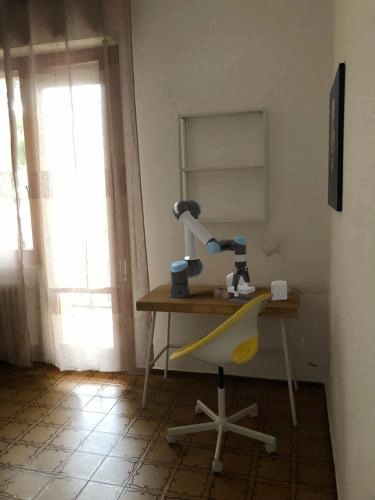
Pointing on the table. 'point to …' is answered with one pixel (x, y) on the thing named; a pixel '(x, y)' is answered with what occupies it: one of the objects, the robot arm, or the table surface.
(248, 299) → the rubber mat
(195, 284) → the table surface
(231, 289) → the cover plate
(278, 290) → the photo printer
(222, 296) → the walnut box
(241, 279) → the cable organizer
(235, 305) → the table surface
